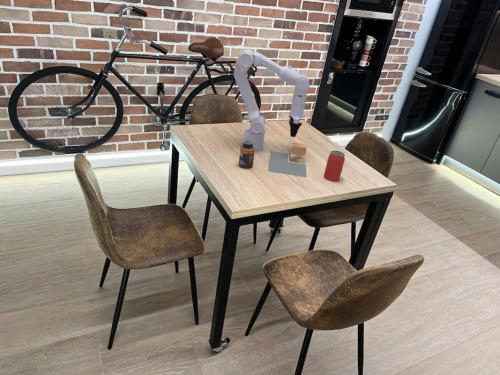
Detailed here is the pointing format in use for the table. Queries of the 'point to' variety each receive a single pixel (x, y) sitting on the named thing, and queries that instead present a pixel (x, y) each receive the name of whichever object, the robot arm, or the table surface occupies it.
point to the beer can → (334, 166)
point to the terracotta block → (299, 149)
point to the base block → (297, 158)
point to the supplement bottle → (246, 155)
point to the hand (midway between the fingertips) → (292, 133)
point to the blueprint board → (286, 165)
